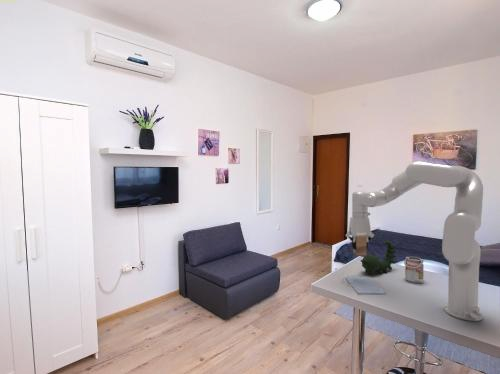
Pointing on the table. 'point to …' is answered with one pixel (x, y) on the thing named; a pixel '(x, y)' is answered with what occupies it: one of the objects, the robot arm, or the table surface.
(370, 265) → the toy figurine
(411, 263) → the beverage can
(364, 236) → the brown tall block
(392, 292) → the table surface
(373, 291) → the rubber mat
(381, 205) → the robot arm
